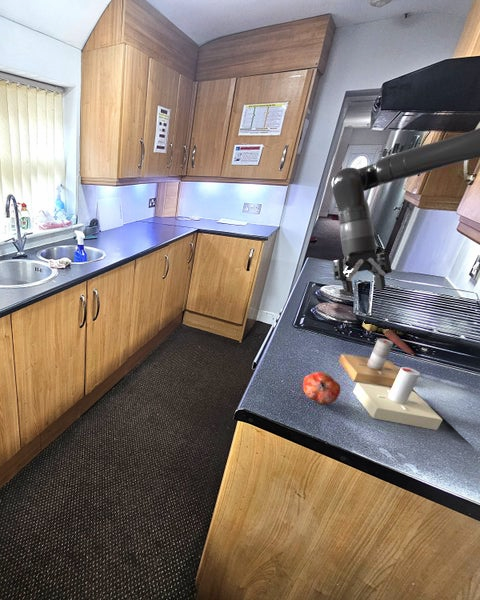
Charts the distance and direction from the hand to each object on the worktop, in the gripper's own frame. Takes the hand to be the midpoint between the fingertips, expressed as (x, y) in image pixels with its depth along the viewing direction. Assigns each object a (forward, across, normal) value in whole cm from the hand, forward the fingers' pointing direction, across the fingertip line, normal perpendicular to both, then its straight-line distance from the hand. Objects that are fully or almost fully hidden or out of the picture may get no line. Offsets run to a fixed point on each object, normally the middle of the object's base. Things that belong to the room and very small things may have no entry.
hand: (364, 291), depth 96 cm
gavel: (+20, +15, +12) cm, 28 cm away
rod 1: (+20, -5, -7) cm, 22 cm away
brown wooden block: (+23, -6, -6) cm, 24 cm away
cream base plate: (+27, -12, -19) cm, 35 cm away
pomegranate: (+23, -27, -17) cm, 40 cm away
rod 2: (+24, -11, -20) cm, 34 cm away
